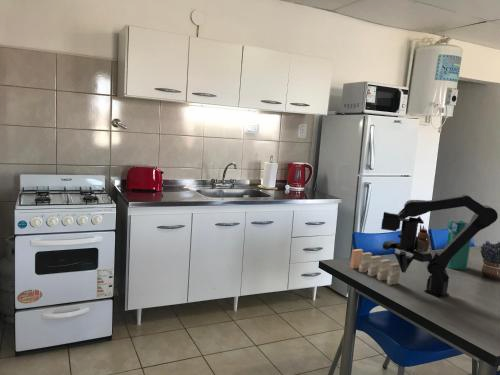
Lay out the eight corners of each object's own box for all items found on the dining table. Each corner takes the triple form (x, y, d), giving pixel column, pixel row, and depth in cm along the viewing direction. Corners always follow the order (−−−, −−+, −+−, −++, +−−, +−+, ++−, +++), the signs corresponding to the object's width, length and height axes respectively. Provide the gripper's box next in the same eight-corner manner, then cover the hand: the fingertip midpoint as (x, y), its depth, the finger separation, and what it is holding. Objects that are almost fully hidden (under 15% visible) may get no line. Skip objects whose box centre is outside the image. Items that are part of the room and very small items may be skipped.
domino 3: (378, 275, 176) (381, 256, 175) (370, 276, 173) (372, 257, 172) (375, 273, 177) (378, 255, 176) (367, 275, 175) (369, 256, 174)
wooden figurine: (412, 253, 216) (416, 224, 214) (414, 250, 221) (418, 222, 219) (426, 255, 213) (431, 226, 211) (427, 253, 218) (432, 225, 216)
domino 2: (369, 271, 180) (371, 253, 179) (361, 272, 178) (363, 254, 176) (366, 270, 182) (369, 252, 180) (358, 271, 179) (360, 253, 178)
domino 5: (398, 283, 168) (400, 264, 167) (390, 285, 165) (392, 265, 164) (395, 282, 169) (397, 262, 168) (386, 283, 166) (389, 264, 165)
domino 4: (388, 279, 172) (390, 260, 171) (380, 280, 169) (382, 261, 168) (385, 277, 173) (387, 259, 172) (376, 279, 170) (379, 260, 169)
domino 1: (361, 267, 184) (363, 249, 183) (352, 268, 182) (354, 250, 181) (358, 266, 186) (360, 248, 185) (350, 267, 183) (352, 249, 182)
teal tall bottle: (460, 265, 201) (467, 220, 198) (468, 270, 193) (475, 224, 190) (439, 262, 202) (446, 218, 199) (446, 268, 193) (453, 221, 190)
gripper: (443, 238, 157) (437, 278, 159) (402, 226, 173) (397, 262, 175) (425, 240, 151) (419, 281, 153) (383, 227, 167) (379, 265, 169)
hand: (403, 272), depth 163 cm, fingers closed
